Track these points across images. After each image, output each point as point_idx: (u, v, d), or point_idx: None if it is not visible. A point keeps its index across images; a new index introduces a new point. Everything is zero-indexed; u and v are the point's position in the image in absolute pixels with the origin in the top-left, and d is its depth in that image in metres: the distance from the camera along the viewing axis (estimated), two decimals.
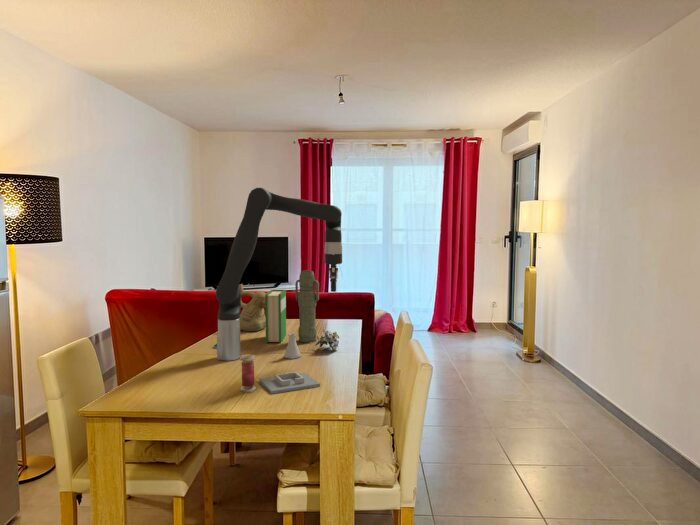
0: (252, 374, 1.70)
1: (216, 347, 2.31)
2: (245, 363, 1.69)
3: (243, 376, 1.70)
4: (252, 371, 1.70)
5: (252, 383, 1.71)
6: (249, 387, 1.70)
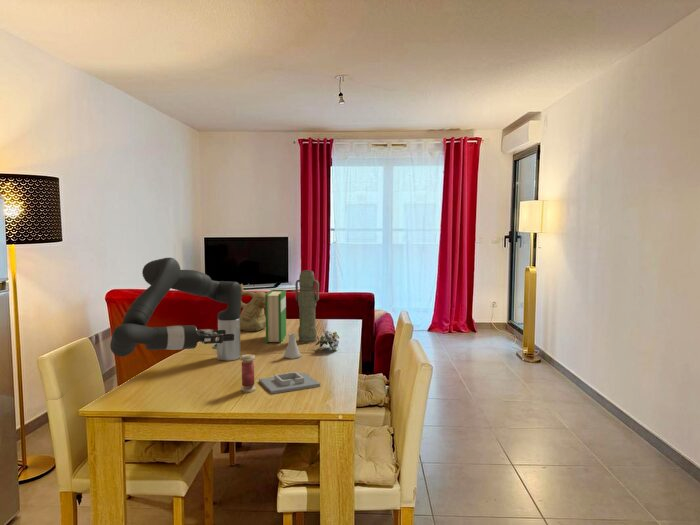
0: (252, 374, 1.70)
1: (216, 347, 2.31)
2: (245, 363, 1.69)
3: (243, 376, 1.70)
4: (252, 371, 1.70)
5: (252, 383, 1.71)
6: (249, 387, 1.70)
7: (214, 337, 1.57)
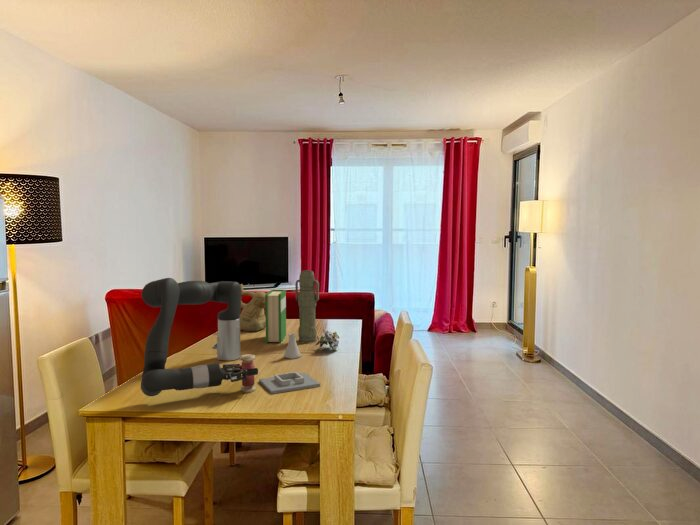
0: None
1: (216, 347, 2.31)
2: (245, 363, 1.69)
3: None
4: None
5: (252, 383, 1.71)
6: (249, 387, 1.70)
7: (240, 374, 1.64)
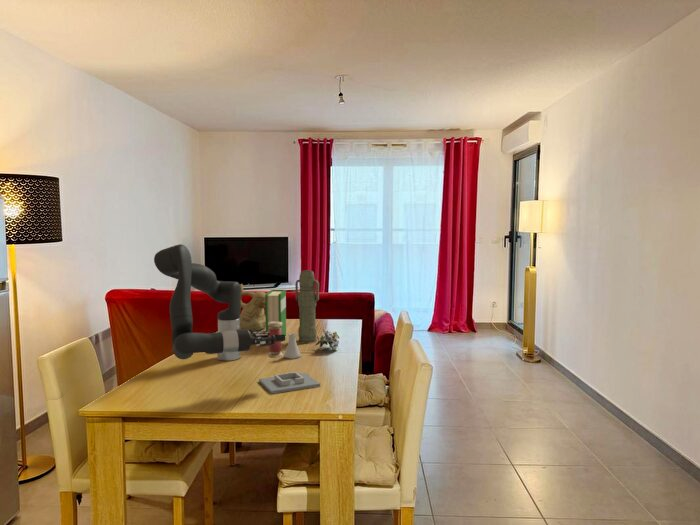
0: None
1: None
2: (273, 329, 1.73)
3: None
4: None
5: (279, 349, 1.74)
6: (276, 353, 1.74)
7: (268, 339, 1.68)
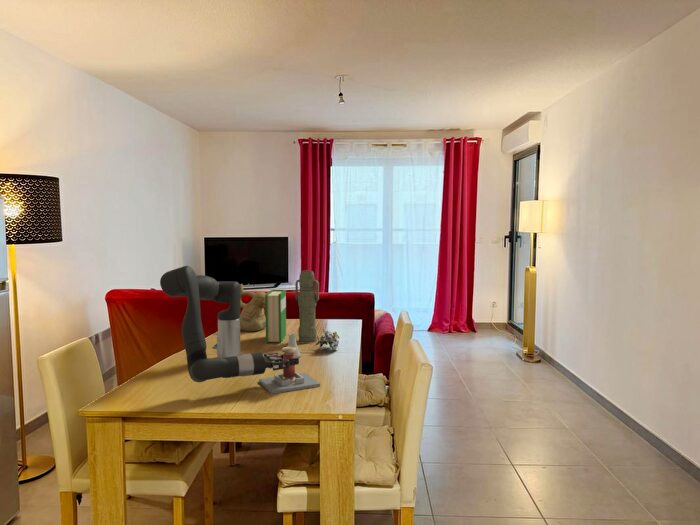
0: (293, 365, 1.77)
1: (216, 347, 2.31)
2: (287, 355, 1.76)
3: None
4: None
5: (293, 374, 1.77)
6: (290, 378, 1.77)
7: (281, 363, 1.70)
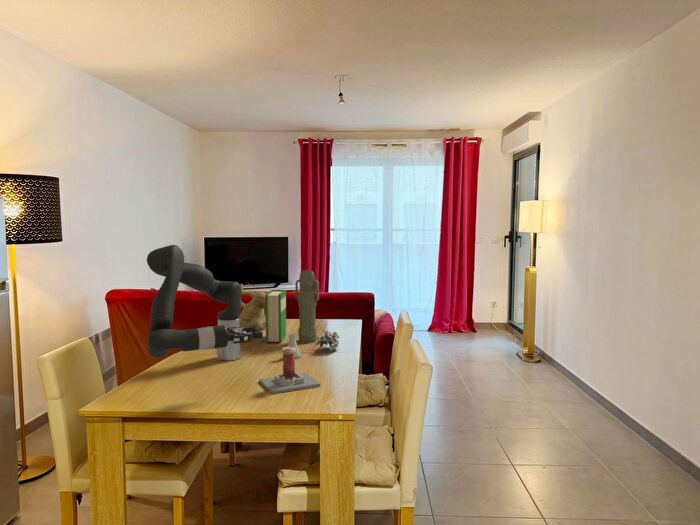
0: (293, 366, 1.77)
1: None
2: (286, 355, 1.76)
3: (284, 367, 1.76)
4: (293, 363, 1.77)
5: (293, 374, 1.77)
6: (290, 378, 1.77)
7: (243, 337, 1.63)
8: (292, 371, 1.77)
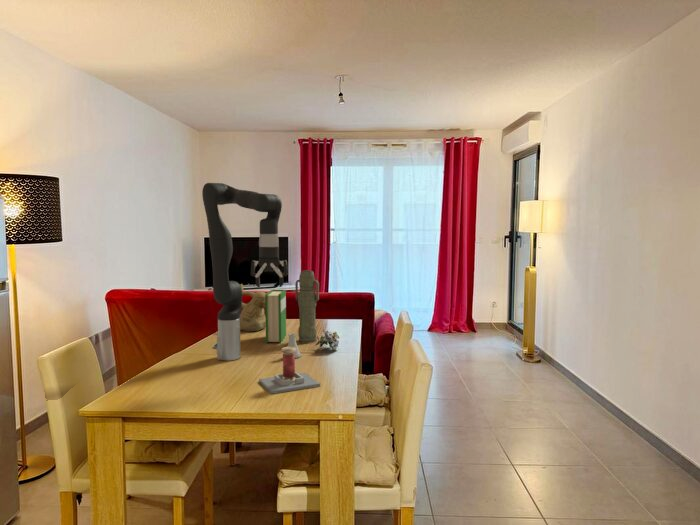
0: (293, 366, 1.77)
1: (216, 347, 2.31)
2: (286, 355, 1.76)
3: (284, 367, 1.76)
4: (293, 363, 1.77)
5: (293, 374, 1.77)
6: (290, 378, 1.77)
7: (287, 268, 1.94)
8: (292, 371, 1.77)
